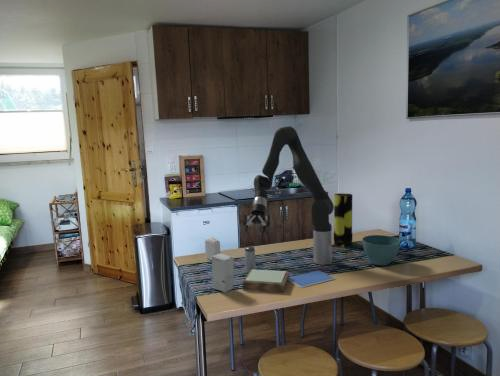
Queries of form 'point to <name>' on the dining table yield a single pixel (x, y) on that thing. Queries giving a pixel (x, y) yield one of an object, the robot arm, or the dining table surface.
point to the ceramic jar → (249, 258)
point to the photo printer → (211, 247)
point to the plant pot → (380, 248)
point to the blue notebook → (310, 279)
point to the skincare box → (222, 272)
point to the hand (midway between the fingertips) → (255, 233)
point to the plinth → (266, 280)
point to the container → (343, 219)
